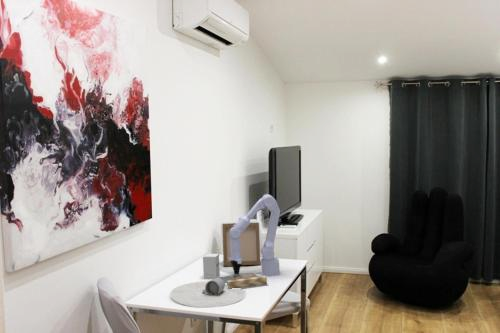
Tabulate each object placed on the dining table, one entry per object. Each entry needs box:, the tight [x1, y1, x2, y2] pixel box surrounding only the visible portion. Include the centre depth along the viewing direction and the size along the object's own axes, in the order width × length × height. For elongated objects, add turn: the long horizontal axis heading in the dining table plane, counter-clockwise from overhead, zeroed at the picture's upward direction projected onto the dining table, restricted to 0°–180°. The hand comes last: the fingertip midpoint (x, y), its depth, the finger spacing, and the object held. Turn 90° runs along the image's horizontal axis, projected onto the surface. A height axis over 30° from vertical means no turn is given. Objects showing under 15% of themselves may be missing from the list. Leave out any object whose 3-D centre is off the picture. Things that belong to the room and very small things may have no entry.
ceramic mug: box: [201, 278, 226, 296], centre depth 233 cm, size 11×8×8 cm
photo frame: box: [222, 222, 261, 267], centre depth 289 cm, size 15×22×25 cm
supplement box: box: [202, 253, 221, 280], centre depth 261 cm, size 7×7×13 cm
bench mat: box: [218, 272, 269, 290], centre depth 250 cm, size 20×26×1 cm
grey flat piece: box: [229, 272, 257, 280], centre depth 249 cm, size 12×8×3 cm, turn 107°
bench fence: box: [226, 274, 268, 290], centre depth 243 cm, size 20×5×4 cm, turn 107°
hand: (236, 273), depth 261 cm, fingers closed
